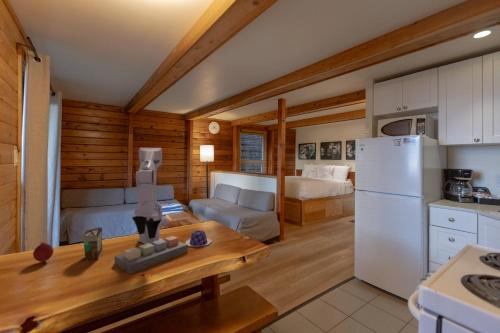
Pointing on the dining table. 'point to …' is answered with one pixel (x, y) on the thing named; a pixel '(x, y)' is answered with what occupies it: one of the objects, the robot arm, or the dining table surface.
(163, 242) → the key slate
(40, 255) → the onion
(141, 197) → the robot arm
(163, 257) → the keypad board
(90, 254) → the food container
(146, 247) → the key sage
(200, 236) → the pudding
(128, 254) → the key ivory
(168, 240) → the key terracotta
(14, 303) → the dining table surface
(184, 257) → the dining table surface
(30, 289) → the dining table surface
